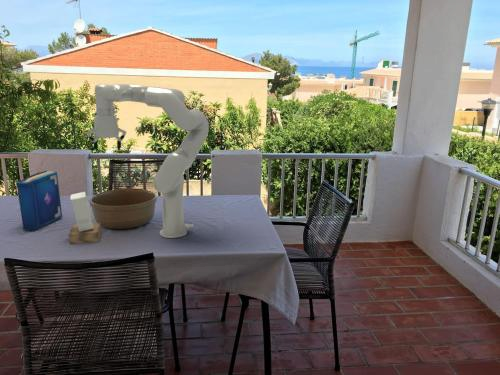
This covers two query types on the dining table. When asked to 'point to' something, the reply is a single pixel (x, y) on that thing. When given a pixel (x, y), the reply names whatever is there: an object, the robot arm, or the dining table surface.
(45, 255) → the dining table surface
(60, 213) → the book
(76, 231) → the tan flat block
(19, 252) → the dining table surface
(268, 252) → the dining table surface
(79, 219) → the skincare box
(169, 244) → the dining table surface
